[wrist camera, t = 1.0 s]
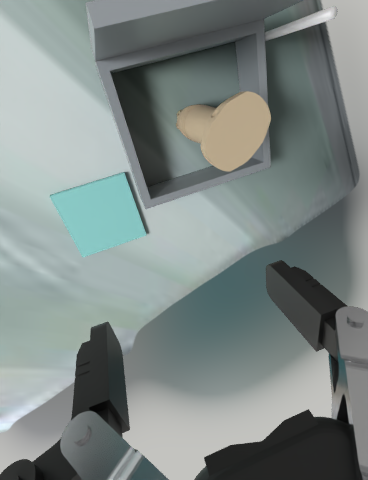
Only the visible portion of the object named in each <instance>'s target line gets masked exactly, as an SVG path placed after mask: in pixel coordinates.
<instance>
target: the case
mask: <svg viewBox="0 0 368 480" xmlns="http://www.w3.org/2000/svg"><path fill="white" fill-rule="evenodd" d="M301 1H303V0H96V1H91V2H87V3H86V9H87V17H88V26H89V34H90V42H91V49H92V52H93V55H94V58H95V61H96V69H97V71H98V74H99V77H100V80H101V83H102V86H103V89H104V92H105V95H106V98H107V101H108V104H109V107H110V109H111V112H112V115H113V118H114V121H115V124H116V127H117V130H118V133H119V136H120V139H121V142H122V145H123V148H124V150H125V153H126V156H127V159H128V162H129V165H130V168H131V171H132V174H133V177H134V180H135V183H136V186H137V189H138V191H139V194H140V197H141V199H142V202H143V204H144V206H145V209H148V208H151V207H154V206H157V205H160V204H163V203H166V202H169V201H172V200H174V199H177V198H180V197H183V196H186V195H189V194H192V193H195V192H198V191H201V190H204V189H207V188H210V187H213V186H216V185H219V184H222V183H225V182H228V181H231V180H234V179H237V178H240V177H243V176H246V175H249V174H252V173H255V172H258V171H261V170H264V169H267V168H270V167H271V160H270V138H269V127H268V130H267V133H266V136H265V138H264V140H263V142H262V144H261V145H260V147H259V148H258V149H257V151H256V152H255V153H254V154H253V156H252V157H251V158H250V159H249V160H248V161H247V162H246V163H244V164H243V165H241V166H239V167H238V168H236V169H234V170H232V171H222V170H220V169H218V168H216V167H215V166H211V167H208V168H205V169H202V170H199V171H196V172H193V173H189V174H186V175H183V176H180V177H177V178H174V179H171V180H168V181H165V182H162V183H159V184H155V185H152V186H149V187H147V186H146V183H145V180H144V177H143V174H142V170H141V167H140V164H139V161H138V158H137V155H136V152H135V149H134V145H133V142H132V139H131V136H130V133H129V130H128V127H127V124H126V120H125V117H124V114H123V111H122V108H121V105H120V102H119V99H118V95H117V92H116V89H115V86H114V83H113V80H112V77H111V73H115V72H119V71H123V70H127V69H131V68H135V67H138V66H142V65H146V64H150V63H154V62H158V61H162V60H165V59H169V58H173V57H177V56H181V55H185V54H188V53H192V52H196V51H200V50H204V49H208V48H212V47H215V46H219V45H223V44H227V43H231V42H235V46H236V57H237V67H238V78H239V88H240V92H243V91H249V92H253V93H256V94H258V95H259V96H260V97H261V98H262V99H263V100H264V101H265V102H266V104H267V105H268V94H267V72H266V50H265V41H268V40H271V39H274V38H277V37H280V36H283V35H286V34H289V33H292V32H295V31H298V30H301V29H304V28H307V27H310V26H313V25H316V24H319V23H322V22H325V21H328V20H331V19H334V18H335V17H336V15H337V7H336V6H332V7H330V8H327V9H324V10H322V11H319V12H316V13H314V14H311V15H309V16H306V17H303V18H301V19H298V20H296V21H293V22H290V23H288V24H285V25H283V26H280V27H277V28H275V29H272V30H270V31H267V32H265V28H264V19H265V18H267V17H269V16H271V15H273V14H275V13H278V12H280V11H282V10H284V9H286V8H288V7H290V6H293V5H295V4H297V3H299V2H301Z"/></svg>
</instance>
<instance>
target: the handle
mask: <svg viewBox="0 0 368 480" xmlns="http://www.w3.org/2000/svg"><path fill="white" fill-rule="evenodd" d="M270 121H271V114H270V110H269V108H268V105H267V104H266V102H265V101H264V100H263V99H262V98H261V97H260V96H259V95H258V94H256V93H253V92H249V91H243V92H239V93H238V94H236V95H234V96H232V97H230V98H229V99H227V100H226V101H224V102H223V103H221V104H220V105H219V106H218V107H217V108H214V107H211V106H207V105H200V104H198V105H191V106H188V107H186V108H184V109H183V110H180V111H178V113H177V123H176V127H177V128H178V129H180V131H181V132H182V134H183V135H184V136H186V137H187V138H188V139H190V140H192V141H194V142H197V143H201V150H202V153H203V155H204V157H205V158H206V160H207V161H208V162H209V163H210V164H212V165H213V166H215V167H216V168H218V169H220V170H222V171H232V170H234V169H236V168H238V167H239V166H241V165H243V164H244V163H246V162H247V161H248V160H249V159H250V158H251V157H252V156H253V154H254V153H255V152H256V151H257V149H258V148H259V147H260V145H261V144H262V142H263V140H264V138H265V136H266V133H267V130H268V127H269V124H270Z"/></svg>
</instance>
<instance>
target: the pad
mask: <svg viewBox="0 0 368 480" xmlns="http://www.w3.org/2000/svg"><path fill="white" fill-rule="evenodd" d="M50 198H51V200H52V202H53V204H54V205H55V207H56V209H57V211H58V213H59V215H60V216H61V218H62V220H63V222H64V224H65V226H66V227H67V229H68V231H69V233H70V235H71V237H72V239H73V240H74V242H75V244H76V246H77V248H78V250H79V251H80V253H81V255H82V257H86V256H88V255H91V254H94V253H97V252H100V251H103V250H106V249H109V248H111V247H114V246H117V245H120V244H123V243H126V242H129V241H131V240H134V239H137V238H140V237H143V236H146V232H145V229H144V226H143V224H142V221H141V218H140V215H139V212H138V210H137V207H136V204H135V201H134V198H133V196H132V193H131V190H130V187H129V184H128V182H127V179H126V176H125V173H124V172H123V173H119V174H116V175H113V176H110V177H107V178H103V179H100V180H97V181H94V182H91V183H87V184H84V185H81V186H78V187H75V188H71V189H68V190H65V191H62V192H59V193H55V194H52V195H50Z"/></svg>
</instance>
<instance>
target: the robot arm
mask: <svg viewBox="0 0 368 480" xmlns="http://www.w3.org/2000/svg"><path fill="white" fill-rule="evenodd" d="M266 288H267V292H268V294H269V296H270V298H271V299H272V301H273V302H274V303H275V304H276V305H277V306H278V308H279V309H280V310H281V311H282V312H283V313H284V315H285V316H286V317H287V318H288V319H289V320H290V322H291V323H292V324H293V325H294V326H295V327H296V328H297V330H298V331H299V332H300V333H301V334H302V335H303V337H304V338H305V339H306V340H307V341H308V342H309V344H310V345H311V346H312V347H313V348H314V349H315V350H316V351H319V350H321V349H324V348H325V349H326V350H327V351H328V352H329V366H330V379H331V390H332V418H326V417H313V415H312V414H311V412H310V411H309V410H306V411H304V412H302V413H300V414H297V415H295V416H293V417H291V418H289V419H286V420H284V421H283V422H282V423H281V424H280V425H279V426H278V427H277V428H276V429H275V430H274V431H273V432H272V433H271V434H270V435H269V436H267V437H266V439H264V440H263V441H261V442H253V443H245V444H236V445H230V446H228V447H226V448H224V449H221V450H219V451H217V452H215V453H213V454H211V455H209V456H206V457H205V458H204V459H205V462H206V467H205V468H204V469H203V470H201V472H200V473H199V474H198V475H197V476H196V478H195V480H368V312H367V311H366V310H364V309H361V308H358V307H353V306H347V305H345V304H344V303H343V302H342V301H341V300H339V299H338V298H337V297H336V296H335V295H333V294H332V293H331V292H330V291H329V290H327V289H326V288H325V287H324V286H323V285H320V283H319V282H318V281H317V280H316V279H313V277H312V276H311V275H310V274H308V273H307V272H306V271H304V270H302V269H299V268H297V267H292V268H290V267H289V266H288V265H287V264H286V263H285V262H284V261H282V260H280V261H277V262H274V263H272V264H269V265H267V266H266ZM75 376H76V378H75V385H74V399H73V410H72V418H71V421H70V422H69V424H68V425H67V426H66V428H65V430H64V432H63V434H62V437H61V439H60V440H59V441H58V442H57V443H56V444H55V445H53V446H52V447H51V448H50V449H49V450H47V451H46V452H45V453H44V454H42V455H41V456H39V457H38V458H37V459H36V460H34V461H33V462H31V461H30V460H27V459H22V460H19V461H16V462H14V463H13V464H11V465H10V466H8V467H7V468H6V469H5V470H4V471H3V472H2V473H1V474H0V480H169V479H168V478H166V477H165V476H164V475H163V474H162V473H161V472H160V471H159V470H158V469H157V468H156V467H155V466H154V465H153V464H152V463H151V462H150V461H149V460H148V459H147V458H145V457H144V456H143V455H142V454H141V453H140V452H139V451H138V450H135V449H134V448H132V447H131V446H130V445H129V444H128V443H127V442H126V441H125V440H124V439H123V438H122V433H124V432H126V431H129V430H130V426H129V416H128V406H127V396H126V385H125V375H124V365H123V355H122V350H121V346H120V343H119V341H118V339H117V337H116V335H115V333H114V331H113V329H112V328H111V326H110V324H109V322H105V323H102V324H100V325H97V326H94V327H92V328H91V335H90V341H87V342H85V343H82V345H81V347H80V349H79V352H78V354H77V360H76V372H75Z"/></svg>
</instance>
